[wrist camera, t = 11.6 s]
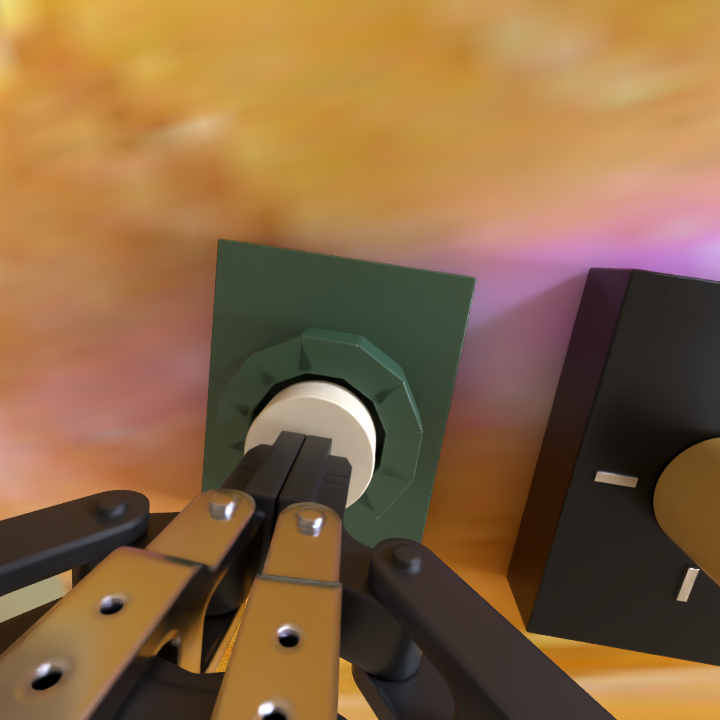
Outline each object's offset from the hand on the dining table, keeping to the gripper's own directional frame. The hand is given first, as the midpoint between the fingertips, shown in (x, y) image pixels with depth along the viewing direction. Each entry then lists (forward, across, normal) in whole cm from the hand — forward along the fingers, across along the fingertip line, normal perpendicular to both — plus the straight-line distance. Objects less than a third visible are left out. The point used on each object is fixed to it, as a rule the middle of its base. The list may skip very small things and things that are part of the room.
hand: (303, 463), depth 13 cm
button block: (+6, 0, 0) cm, 6 cm away
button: (+2, 0, 0) cm, 2 cm away
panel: (+6, -14, 0) cm, 15 cm away
